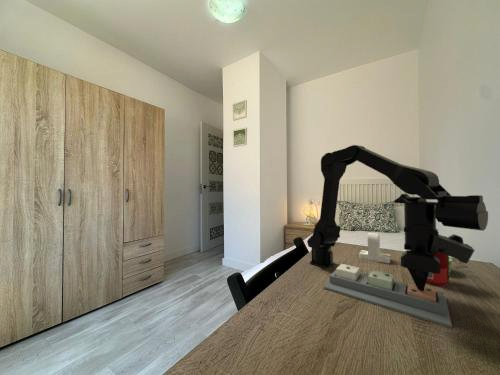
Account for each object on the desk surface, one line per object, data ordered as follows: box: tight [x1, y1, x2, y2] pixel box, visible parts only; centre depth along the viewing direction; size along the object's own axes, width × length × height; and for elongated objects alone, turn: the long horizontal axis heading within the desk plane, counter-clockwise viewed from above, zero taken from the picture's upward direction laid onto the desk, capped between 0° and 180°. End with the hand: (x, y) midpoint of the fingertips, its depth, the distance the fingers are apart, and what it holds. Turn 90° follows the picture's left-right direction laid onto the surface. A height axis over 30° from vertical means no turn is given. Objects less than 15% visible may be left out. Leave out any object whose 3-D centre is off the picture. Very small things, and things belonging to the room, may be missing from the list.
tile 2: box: [368, 270, 395, 291], centre depth 53 cm, size 5×5×2 cm
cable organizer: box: [358, 232, 391, 264], centre depth 79 cm, size 5×10×10 cm, turn 52°
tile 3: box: [407, 283, 436, 302], centre depth 48 cm, size 5×5×2 cm
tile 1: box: [335, 263, 361, 281], centre depth 58 cm, size 5×5×2 cm
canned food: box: [426, 252, 450, 287], centre depth 60 cm, size 8×8×11 cm
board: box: [323, 269, 453, 329], centre depth 53 cm, size 25×14×2 cm, turn 49°
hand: (420, 289), depth 48 cm, fingers closed, pressing on tile 3
